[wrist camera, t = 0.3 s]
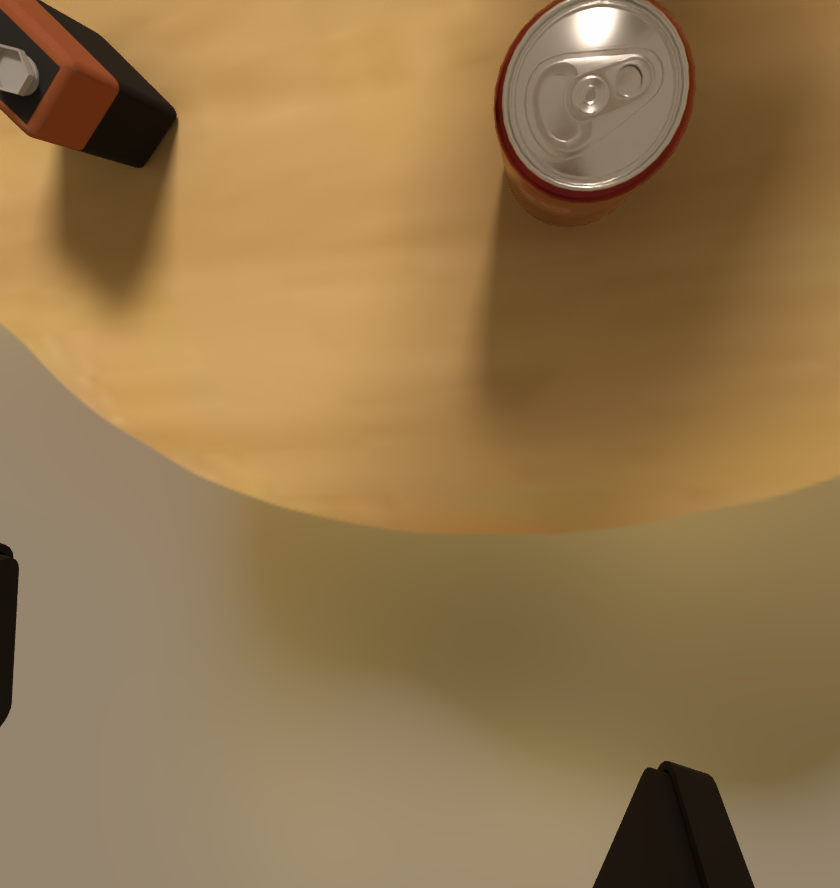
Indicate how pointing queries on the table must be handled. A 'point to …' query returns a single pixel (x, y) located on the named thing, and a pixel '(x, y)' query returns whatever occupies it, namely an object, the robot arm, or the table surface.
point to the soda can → (591, 105)
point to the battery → (75, 87)
